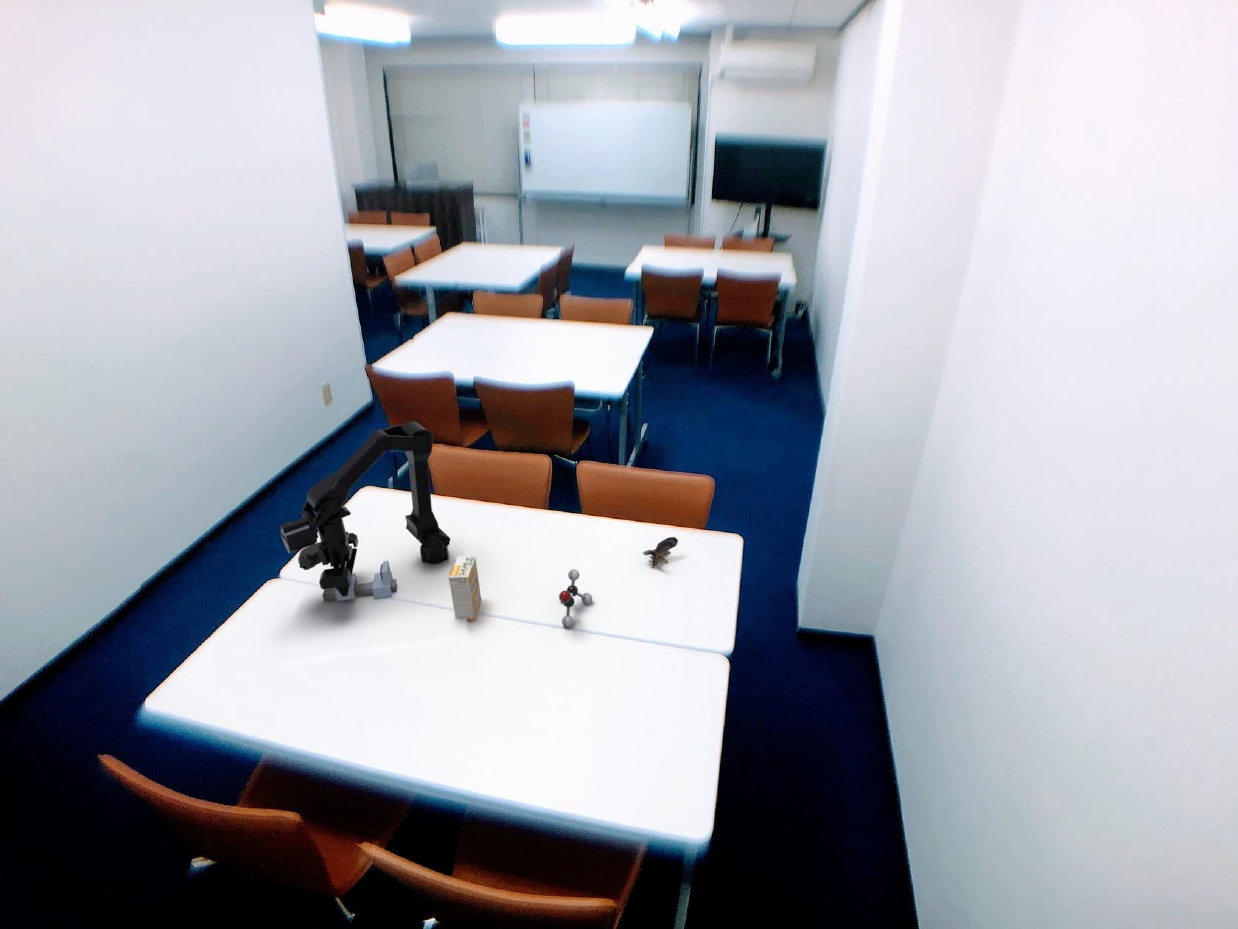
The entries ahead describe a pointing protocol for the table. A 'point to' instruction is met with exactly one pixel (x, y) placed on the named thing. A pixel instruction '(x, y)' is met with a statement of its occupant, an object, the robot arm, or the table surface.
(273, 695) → the table surface
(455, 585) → the supplement box
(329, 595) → the rail board
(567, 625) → the molecular model
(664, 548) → the grey brown irregular piece
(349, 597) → the notched blue block
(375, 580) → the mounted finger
